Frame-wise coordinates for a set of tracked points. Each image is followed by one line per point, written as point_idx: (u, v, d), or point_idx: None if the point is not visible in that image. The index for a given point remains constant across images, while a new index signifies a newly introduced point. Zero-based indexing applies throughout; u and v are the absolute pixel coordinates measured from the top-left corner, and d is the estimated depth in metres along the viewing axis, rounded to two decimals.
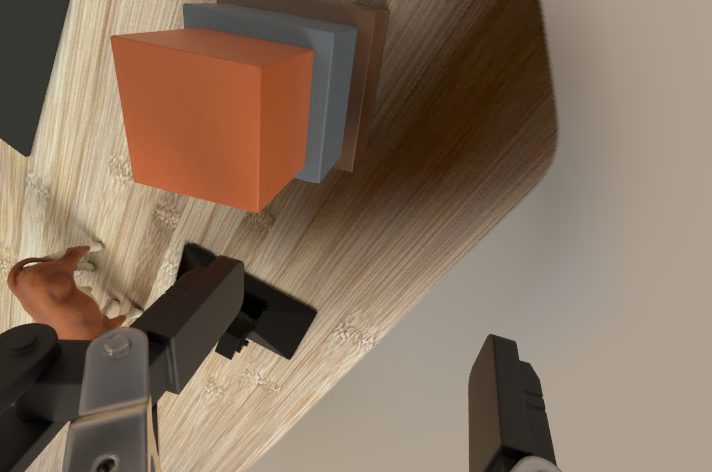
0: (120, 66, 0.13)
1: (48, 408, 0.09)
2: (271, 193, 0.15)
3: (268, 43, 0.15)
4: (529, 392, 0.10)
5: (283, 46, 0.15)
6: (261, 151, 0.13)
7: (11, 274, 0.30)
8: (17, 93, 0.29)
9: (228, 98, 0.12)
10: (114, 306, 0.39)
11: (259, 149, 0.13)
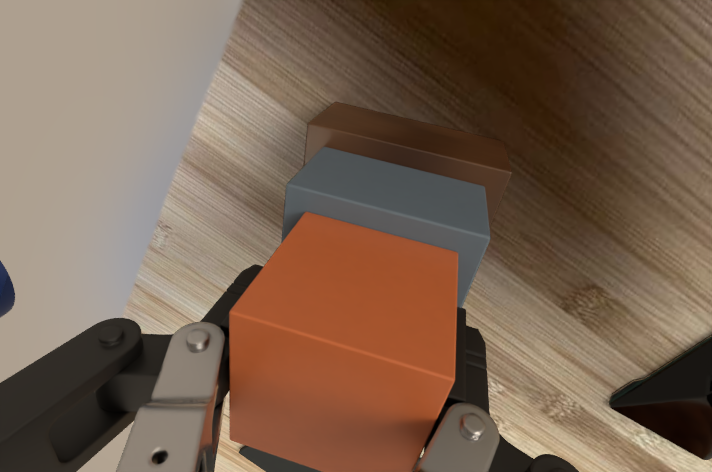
0: (257, 445, 0.11)
1: (131, 399, 0.09)
2: (443, 336, 0.09)
3: None
4: (474, 353, 0.11)
5: None
6: (347, 342, 0.08)
7: None
8: None
9: (274, 359, 0.09)
10: None
11: (342, 344, 0.08)
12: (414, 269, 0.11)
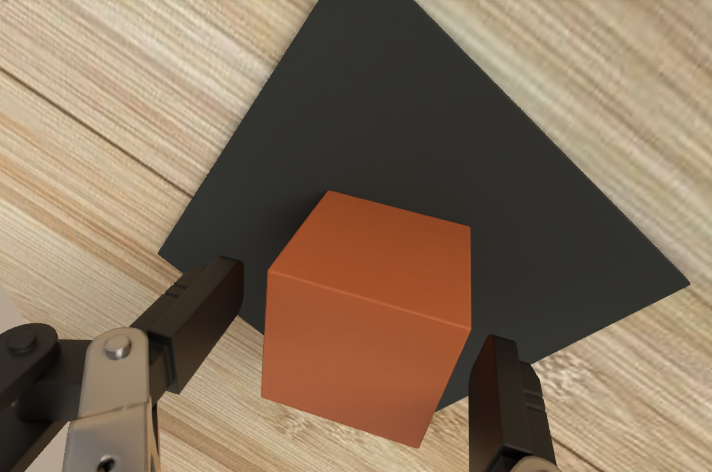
0: (286, 401, 0.12)
1: (48, 408, 0.09)
2: (459, 294, 0.10)
3: None
4: (529, 392, 0.10)
5: None
6: (374, 296, 0.09)
7: None
8: (535, 211, 0.12)
9: (307, 315, 0.10)
10: None
11: (369, 298, 0.09)
12: (430, 239, 0.12)
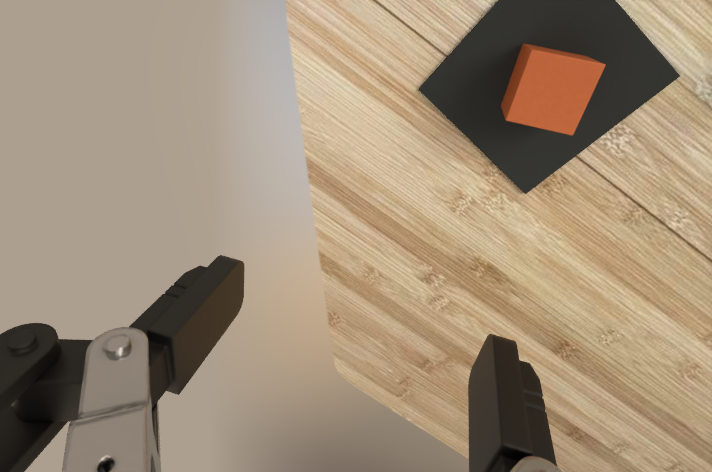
0: (518, 120, 0.30)
1: (47, 408, 0.09)
2: (597, 61, 0.28)
3: (516, 65, 0.32)
4: (529, 392, 0.10)
5: (519, 57, 0.32)
6: (570, 56, 0.27)
7: None
8: (616, 46, 0.30)
9: (542, 68, 0.28)
10: None
11: (569, 56, 0.27)
12: (575, 55, 0.30)
